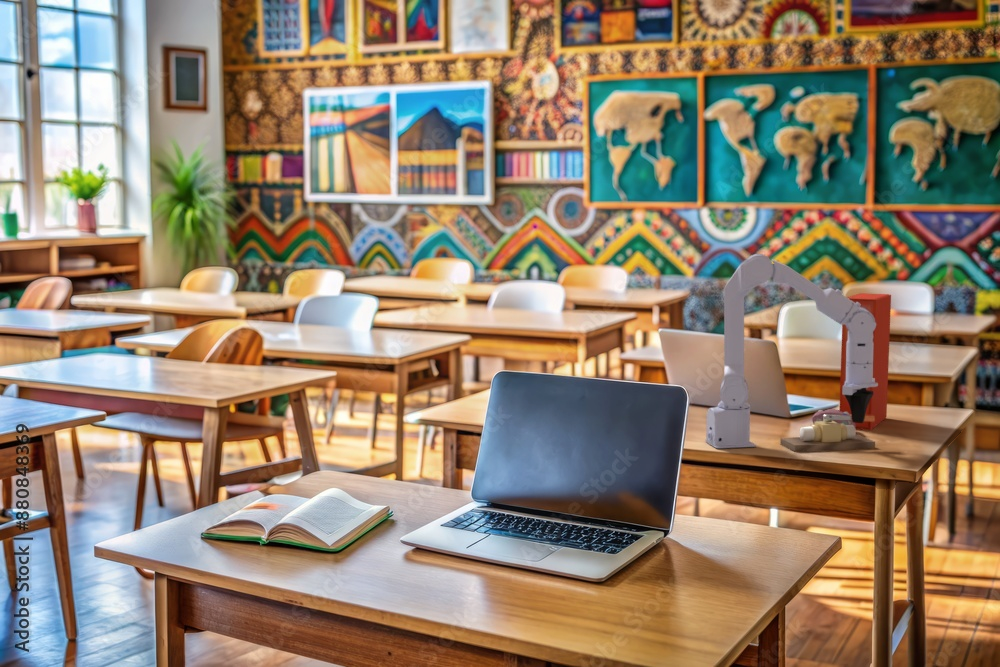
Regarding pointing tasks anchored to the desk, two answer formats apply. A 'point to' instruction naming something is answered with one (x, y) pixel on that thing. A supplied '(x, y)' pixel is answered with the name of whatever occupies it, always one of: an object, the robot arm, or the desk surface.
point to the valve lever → (845, 417)
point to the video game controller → (819, 415)
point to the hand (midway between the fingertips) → (858, 422)
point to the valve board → (827, 444)
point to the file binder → (881, 312)
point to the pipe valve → (827, 432)
